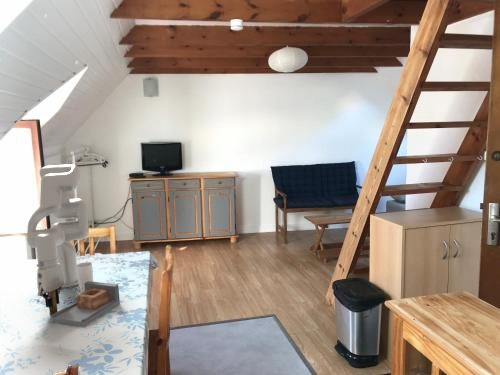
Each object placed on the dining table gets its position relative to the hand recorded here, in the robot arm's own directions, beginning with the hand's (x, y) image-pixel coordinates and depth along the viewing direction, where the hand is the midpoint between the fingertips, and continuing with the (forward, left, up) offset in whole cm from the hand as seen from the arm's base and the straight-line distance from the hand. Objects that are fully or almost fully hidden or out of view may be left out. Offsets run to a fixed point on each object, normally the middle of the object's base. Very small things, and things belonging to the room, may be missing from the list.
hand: (52, 304), depth 173 cm
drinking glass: (+1, +19, -4) cm, 19 cm away
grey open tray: (+14, +4, -4) cm, 15 cm away
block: (+14, +8, -1) cm, 16 cm away
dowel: (0, 0, -4) cm, 4 cm away
